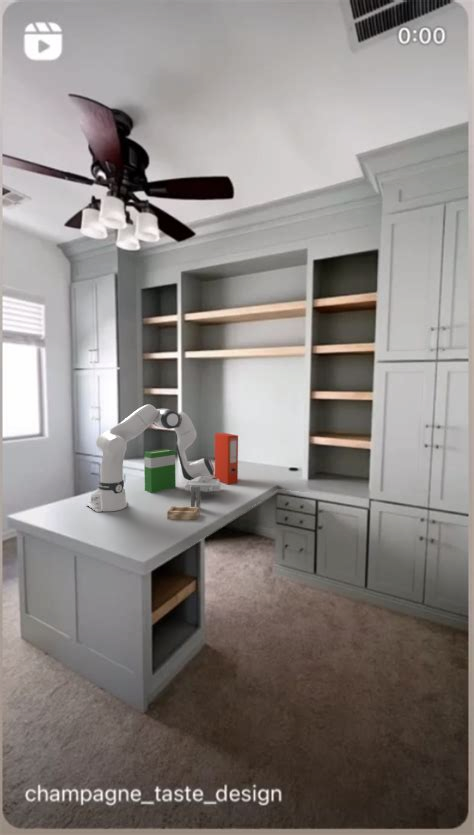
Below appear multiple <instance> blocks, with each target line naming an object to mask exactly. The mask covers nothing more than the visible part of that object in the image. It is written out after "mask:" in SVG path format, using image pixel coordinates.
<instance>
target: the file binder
mask: <svg viewBox="0 0 474 835" xmlns="http://www.w3.org/2000/svg"><path fill="white" fill-rule="evenodd" d="M238 461H239V435H236V434H231V433H227V432H226V433H225V432H221V433H220V432H218V433H216V432H215V433H214V475H215V478H217V479H219V480H220V483H223V484H225V485H228V486H229V485H235V484H238V480H239V479H238V478H239V477H238V476H239V470H238V469H239V465H238V464H239V462H238Z"/></svg>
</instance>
